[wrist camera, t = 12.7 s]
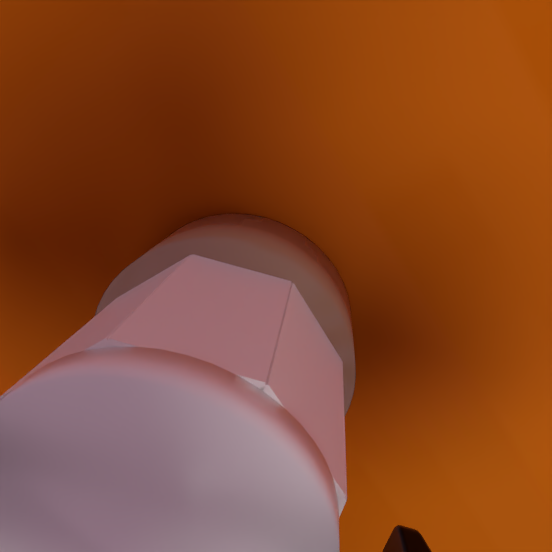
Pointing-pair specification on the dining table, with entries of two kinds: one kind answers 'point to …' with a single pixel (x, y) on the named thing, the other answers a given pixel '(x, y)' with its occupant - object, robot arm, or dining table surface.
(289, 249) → the spice pot
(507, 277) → the dining table surface
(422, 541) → the robot arm
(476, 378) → the dining table surface
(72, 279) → the dining table surface
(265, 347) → the cap
